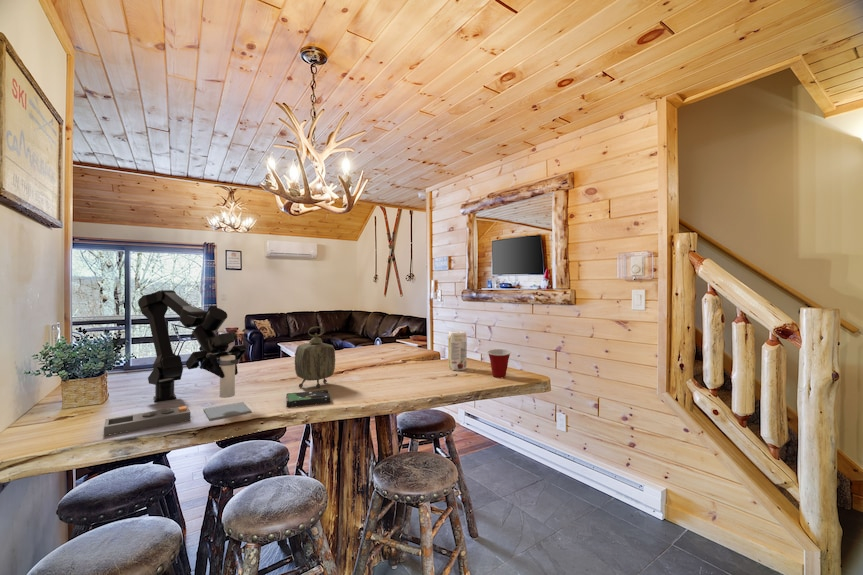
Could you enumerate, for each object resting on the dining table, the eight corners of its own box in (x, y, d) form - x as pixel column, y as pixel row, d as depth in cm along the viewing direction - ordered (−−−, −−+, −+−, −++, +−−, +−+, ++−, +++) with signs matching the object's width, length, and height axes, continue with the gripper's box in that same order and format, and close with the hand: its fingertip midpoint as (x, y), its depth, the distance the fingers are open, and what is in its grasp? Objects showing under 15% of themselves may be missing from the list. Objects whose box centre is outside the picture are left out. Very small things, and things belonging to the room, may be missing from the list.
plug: (216, 396, 121) (216, 356, 121) (228, 393, 126) (229, 354, 126) (230, 399, 119) (231, 358, 119) (242, 395, 123) (243, 356, 123)
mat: (203, 410, 123) (203, 408, 123) (242, 403, 131) (242, 401, 131) (209, 420, 114) (209, 418, 114) (251, 412, 122) (251, 410, 122)
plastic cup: (483, 377, 172) (483, 351, 172) (492, 373, 181) (492, 348, 181) (505, 380, 166) (506, 353, 166) (514, 375, 175) (514, 350, 175)
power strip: (105, 427, 108) (105, 416, 108) (187, 413, 121) (187, 403, 121) (103, 436, 102) (104, 424, 102) (190, 420, 114) (190, 409, 114)
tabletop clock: (326, 381, 162) (327, 324, 162) (337, 385, 156) (337, 326, 156) (294, 387, 152) (294, 326, 152) (303, 392, 146) (304, 328, 146)
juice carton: (467, 370, 187) (468, 332, 187) (451, 371, 184) (451, 333, 184) (462, 367, 194) (462, 330, 194) (446, 368, 192) (447, 331, 192)
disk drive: (327, 397, 142) (285, 400, 136) (327, 389, 142) (286, 393, 136) (330, 404, 132) (286, 409, 127) (331, 396, 132) (286, 400, 127)
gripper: (191, 326, 116) (215, 365, 111) (244, 321, 133) (266, 355, 128) (175, 349, 119) (197, 388, 114) (228, 342, 136) (249, 375, 131)
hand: (230, 375), depth 122 cm, fingers closed on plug, 4 cm apart
